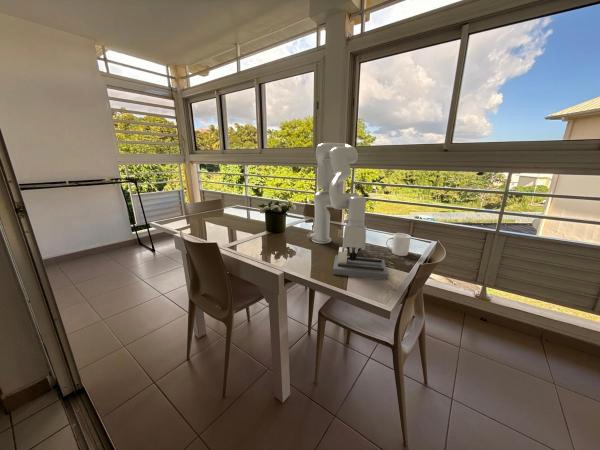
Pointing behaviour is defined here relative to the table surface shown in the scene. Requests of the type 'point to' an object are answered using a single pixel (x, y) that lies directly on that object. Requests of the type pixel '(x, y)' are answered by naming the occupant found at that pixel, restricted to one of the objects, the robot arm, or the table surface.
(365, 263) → the breaker panel
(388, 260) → the table surface
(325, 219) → the robot arm
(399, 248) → the mug
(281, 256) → the table surface
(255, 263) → the table surface
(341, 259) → the breaker toggle
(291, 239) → the table surface
